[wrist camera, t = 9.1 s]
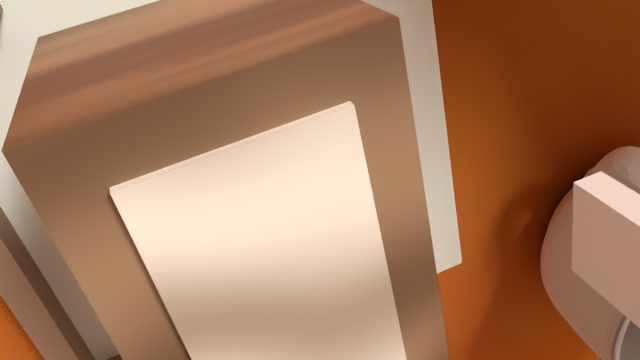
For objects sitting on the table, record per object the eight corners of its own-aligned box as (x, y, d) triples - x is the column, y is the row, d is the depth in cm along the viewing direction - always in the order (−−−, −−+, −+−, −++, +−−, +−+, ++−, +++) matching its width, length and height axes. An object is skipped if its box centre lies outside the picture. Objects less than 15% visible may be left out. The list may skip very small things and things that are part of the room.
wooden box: (38, 37, 18) (0, 156, 10) (278, -36, 19) (404, 19, 12) (172, 312, 24) (211, 517, 16) (346, 241, 26) (458, 398, 18)
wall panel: (399, -213, 19) (429, -222, 17) (456, 257, 29) (479, 280, 27) (-204, -60, 15) (-239, -52, 14) (103, 409, 26) (104, 446, 24)
